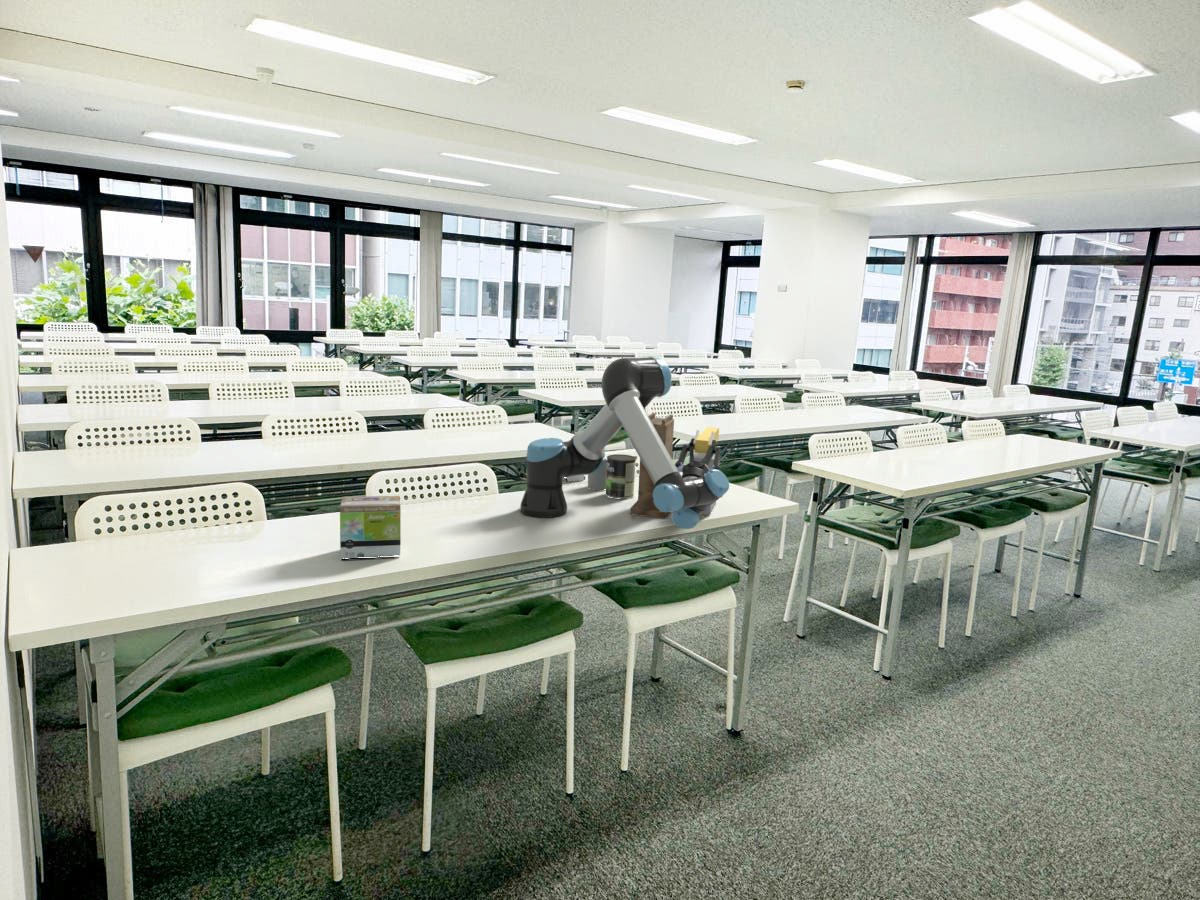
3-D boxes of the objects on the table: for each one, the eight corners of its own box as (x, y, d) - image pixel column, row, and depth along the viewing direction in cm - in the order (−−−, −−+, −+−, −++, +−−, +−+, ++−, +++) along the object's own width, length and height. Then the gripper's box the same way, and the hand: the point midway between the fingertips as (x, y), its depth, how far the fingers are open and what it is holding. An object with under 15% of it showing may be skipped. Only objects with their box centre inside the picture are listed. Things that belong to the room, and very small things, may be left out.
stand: (629, 514, 243) (634, 418, 236) (641, 500, 260) (646, 411, 253) (666, 518, 239) (671, 421, 233) (675, 504, 256) (681, 414, 250)
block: (694, 452, 229) (695, 439, 228) (706, 438, 253) (707, 426, 253) (707, 453, 228) (708, 440, 227) (718, 439, 252) (719, 427, 252)
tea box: (340, 562, 189) (338, 505, 186) (342, 549, 199) (340, 495, 196) (401, 558, 194) (400, 503, 191) (400, 546, 203) (399, 493, 200)
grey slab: (685, 512, 247) (689, 457, 243) (693, 501, 262) (696, 448, 258) (710, 515, 245) (714, 459, 241) (716, 503, 260) (719, 450, 256)
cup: (611, 485, 280) (612, 459, 278) (609, 491, 271) (610, 464, 270) (589, 484, 280) (589, 458, 278) (586, 489, 272) (587, 463, 270)
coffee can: (610, 500, 259) (612, 460, 257) (601, 492, 269) (603, 454, 266) (638, 498, 262) (640, 459, 260) (628, 491, 272) (630, 453, 269)
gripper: (665, 490, 223) (679, 441, 239) (722, 496, 218) (732, 445, 235) (663, 472, 218) (678, 422, 235) (722, 477, 213) (732, 427, 230)
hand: (705, 434), depth 235 cm, fingers closed on block, 4 cm apart
